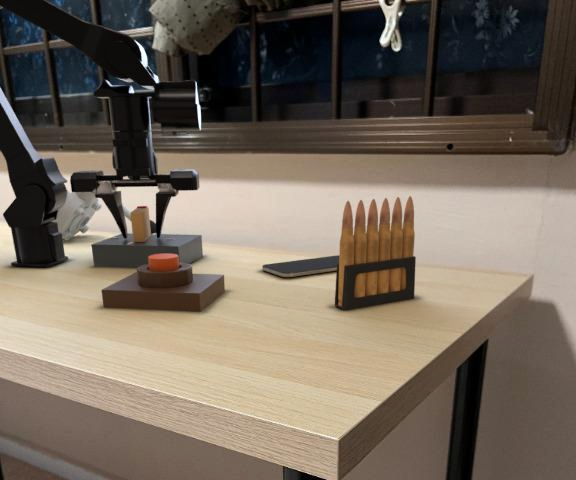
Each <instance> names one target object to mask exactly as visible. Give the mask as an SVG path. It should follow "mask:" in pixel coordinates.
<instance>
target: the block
mask: <svg viewBox="0 0 576 480" xmlns="http://www.w3.org/2000/svg"><path fill="white" fill-rule="evenodd" d="M150 220H151V219H150V209H149V207H148V205H138V206H136V208H135V209H133V210H132V211H131V221H130V223H131V230H132V231H131V233H132V234H133V241H134V242H146V241H147V239H148V238H149V237H150V236H151V229H150Z"/></svg>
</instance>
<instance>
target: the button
mask: <svg viewBox="0 0 576 480" xmlns="http://www.w3.org/2000/svg"><path fill="white" fill-rule="evenodd" d="M148 261H149V270H152V271H168V270H175V269H179V257H178V255H177V254H169V253H164V254H154V255H150V256H149V257H148Z"/></svg>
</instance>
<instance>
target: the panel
mask: <svg viewBox="0 0 576 480" xmlns="http://www.w3.org/2000/svg"><path fill="white" fill-rule="evenodd" d="M127 235H128V238H127V239H124V237H123V235H122V233H119V234H117V235H114V236H111V237H107V238H106V239H103V240H100V241H97V242H93V243H91V252H92V253H91V254H92V260H93V261H92V262H93V267H94V268H115V269H119V268H120V269H136V268H138V267H140V266H142V265H145V264H149V261H148V257H149V256H150V255H154V254H164V253H169V254H177V255H178V257H179V262H181V263H187V264H190V265H192V264H193V263H194V262H196V261H197V260H199V259H200V258H202V257H204V253H203V251H204V250H203V236H202V234H177V233H176V234H174V233H173V234H170V233H161V236H160V238H157V234H156V233H154V234H151V236H150V237H149V238H148V239H147V241H146V242H134V241H133V233H128V232H127Z"/></svg>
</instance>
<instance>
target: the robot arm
mask: <svg viewBox="0 0 576 480" xmlns="http://www.w3.org/2000/svg"><path fill="white" fill-rule="evenodd" d="M1 9H5V10H7V11H8V12H10V13H12V14H14V15H16V16H18V17H19V18H21V19H22V20H25V21H27V22H29V23H31V24H32V25H34V26H36V27H38V28H40V29H42V30H44V31H45V32H47V33H49V34H51V35H53V36H55V37H56V38H59V39H61V40H62V41H64V42H66V43H68V44H70V45H72V46H73V47H74V48H76V49H77V50H78V51H80V52H81V53H82V54H83V55H85V56H86V57H87V58H88V59H89V60H90V61H92V62H93V63H94V64H96V65H97V66H98V67H100V68H101V69H102V70H104V71H105V72H106V73H107V74H109V75H110V76H111V77H113V78H115V79H118V80H121V81H123V82H126V83H133V82H134V83H135V84H137V85H138V86H140V87H142V88H144V89H147V90H152V91H154V92H135V90H134V88H133V86H132V85H131V84H130V85H128V84H127V85H122V84H121V85H113V84H111V82H110V81H108V80H107V79H101V83H100V85H99V86H98V87H97V88H96V89H95V90H94V91H93V93H92V94H93V97H94V98H97V99H108V107H109V108H108V109H109V117H110V125H111V132H112V133H111V134H112V147H113V149H112V154H111V155H112V157H111V160H112V161H111V162H112V163H111V164H112V168H113V169H114V171H115V174H104V171H103V170H79V171H74V172H72V174H71V175H70V179H69V183H70V189H71V192H93V191H94V190H95V189H96V194H95V198H97V199H101V200H102V201H103V203H104V205H105V206H106V208H107V209H108V211H109V212H110V214H111V215H112V218H113V219H114V222H115V223H116V225H117V227H118V229H119V231H120V234H122V235H123V237H124V239H127V238H128V235H127V233H128V226H127V221H126V217H125V216H124V211H123V206H122V204H123V201H122V200H123V199H122V190H118V188H139V187H140V188H141V187H147V188H148V187H150V188H151V187H153V188H154V187H157V189H158V191H157V192H156V193H155V223H156V234H157V238H160V236H161V234H162V232H163V227H164V224H165V223H164V222H165V219H166V213H167V210H168V207H169V204H170V201H171V199H172V198H175V197H177V196H178V195H179V194H180V193H179V191H180V192H181V191H182V192H183V191H184V192H185V191H198V190H199V189H200V175H199V174H200V173H199V172H198V171H197V170H196V169H195V168H193V169H191V168H190V169H185V168H184V169H171V170H170V171H169V173H164V174H163V173H160V174H159V169H158V167H159V166H158V158H157V155H156V153H155V150H154V147H153V144H154V143H153V133H152V125H151V111H152V118H153V122H154V124H155V125H159V124H160V127H161V130H162V132H198V131H199V132H201V130H202V112H201V105H200V101H199V92H198V85H197V81H196V80H195V79H186V80H182V81H160V79H159V76H158V75H156V74H155V73H154V72H153V71H152V69H151V68H150V66H149V65H148V56H147V53H146V51H145V48H144V47H143V46H142V44H140V42H138V41H136V39H134V38H132V37H131V36H130V35H129V34H126V33H124V32H121V31H119V30H116V29H112V28H109V27H106V26H104V25H100V24H96V23H94V22H90V21H87V20H84V19H81V18H79V17H78V16H76V15H74V14H72V13H71V12H69V11H67V10H66V9H64V8H62V7H60V6H59V5H56V4H54V3H52V2H51V1H49V0H0V10H1ZM150 99H151V111H150V101H149V100H150ZM0 152H1V154H2V156H3V158H4V160H5V163H6V169H7V174H8V180H9V183H10V186H11V189H12V191H13V193H14V196H15V198H14V200H12V202H11V203H10V204H9V205H8V207H7V208H6V210H5V211H4V212H3V213H2V217H3V219H4V221H5V222H6V224H7V226H8V227H9V228H10V231H11V236H12V237H11V238H12V242H13V247H14V253H15V259H16V260H15V261H12V262H10V266H11V267H35V268H37V267H39V268H44V267H45V268H49V267H52V266H54V265H58V264H59V263H63V262H65V261H67V260H69V256H67V255H66V253H65V248H64V247H65V246H64V241H63V240H64V239H62V234H61V232H59V230H58V223H57V222H51V221H53V220H56V219H57V216H58V211H59V209H60V208H61V207H63V205H64V204H65V202H66V198H67V190H68V189H67V187H66V184H67V183H68V180H67V179H66V178H65V177H64V176H63V174H62V173H61V171H60V169H59V166H58V164H57V161H56V159H55V157H53V156H50V157H49V156H48V157H43V156H42V155H41V154H40V153H39V152H38V151H37V150H36V149H35V148H34V146H33V144H32V142H31V140H30V139H29V137H28V135H27V133H26V132H25V130H24V127H23V126H22V124H21V122H20V120H19V119H18V117H17V115H16V114H15V112H14V110H13V108H12V106H11V104H10V102H9V100H8V98H7V97H6V95H5V93H4V92H3V90H2V88H1V87H0ZM126 177H127V178H126Z"/></svg>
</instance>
